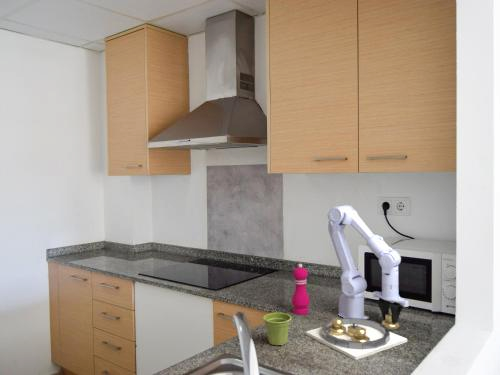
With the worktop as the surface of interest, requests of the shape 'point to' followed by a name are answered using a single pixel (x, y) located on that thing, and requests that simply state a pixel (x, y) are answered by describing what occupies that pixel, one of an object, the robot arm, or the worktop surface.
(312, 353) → the worktop surface
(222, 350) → the worktop surface
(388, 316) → the gear
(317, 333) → the board
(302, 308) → the pepper mill
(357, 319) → the ring gear
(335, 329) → the sun and planets
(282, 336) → the plant pot
